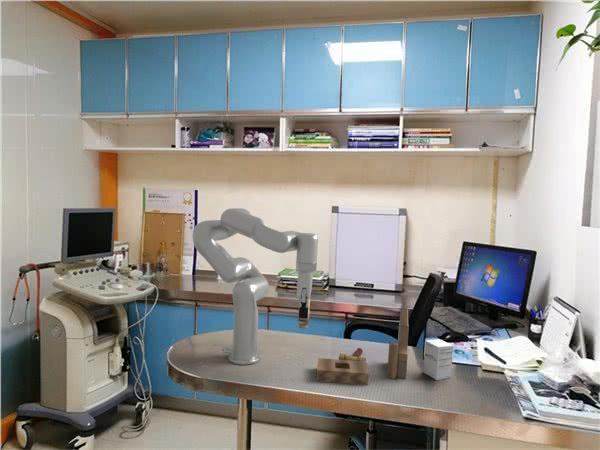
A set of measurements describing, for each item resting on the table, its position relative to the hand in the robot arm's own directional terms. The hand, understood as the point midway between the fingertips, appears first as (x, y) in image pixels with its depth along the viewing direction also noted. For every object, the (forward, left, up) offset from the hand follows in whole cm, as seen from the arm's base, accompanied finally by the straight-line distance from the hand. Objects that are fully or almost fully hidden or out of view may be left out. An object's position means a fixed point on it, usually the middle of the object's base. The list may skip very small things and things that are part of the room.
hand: (303, 315), depth 153 cm
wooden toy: (+36, +7, -21) cm, 42 cm away
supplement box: (+51, +6, -21) cm, 56 cm away
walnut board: (+15, -2, -21) cm, 26 cm away
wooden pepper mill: (0, 0, -4) cm, 4 cm away
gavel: (+21, +17, -22) cm, 35 cm away
